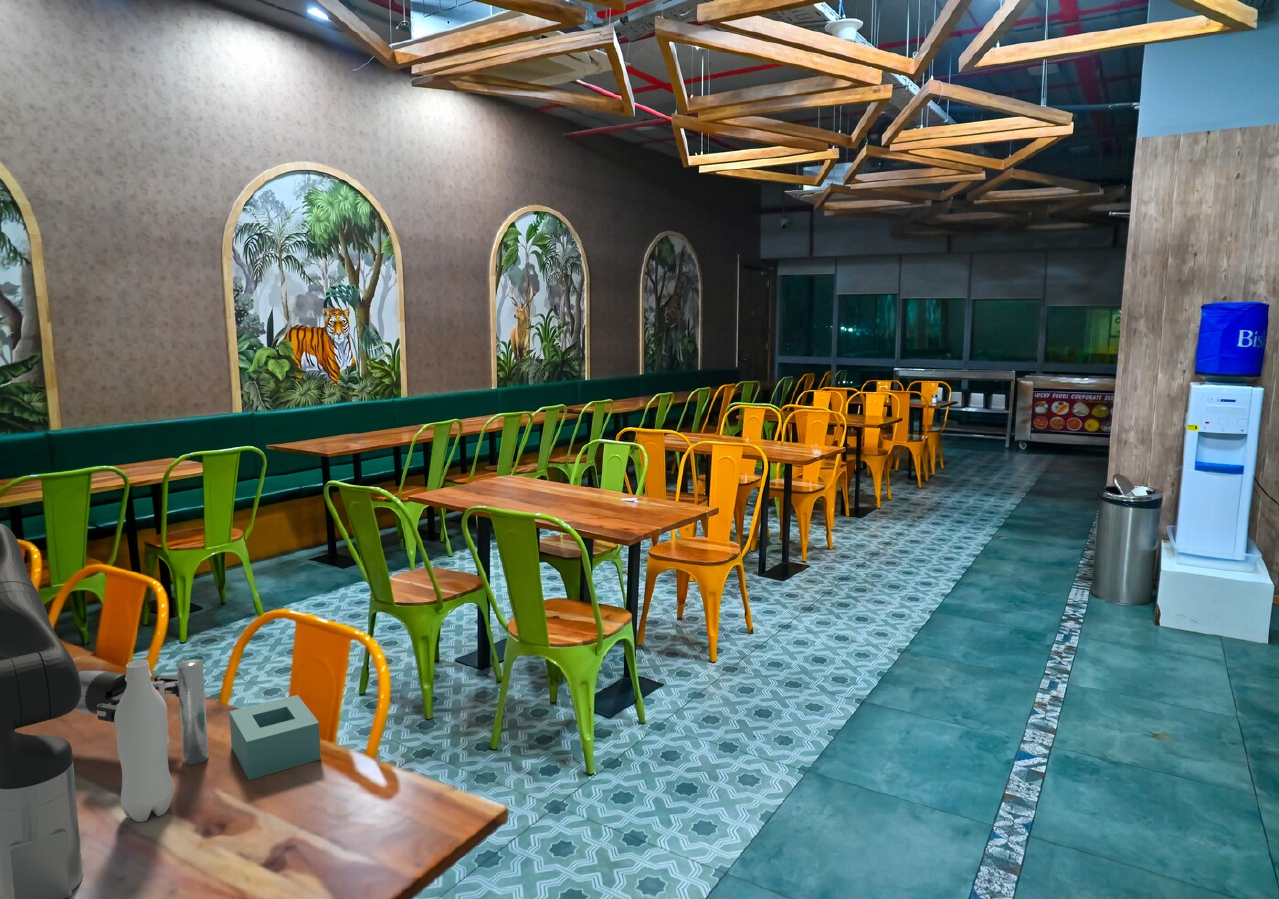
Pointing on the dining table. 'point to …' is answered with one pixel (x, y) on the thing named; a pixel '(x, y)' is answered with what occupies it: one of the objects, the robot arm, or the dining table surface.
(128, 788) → the water bottle
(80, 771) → the dining table surface
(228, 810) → the dining table surface
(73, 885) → the robot arm
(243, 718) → the well block
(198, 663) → the steel post
